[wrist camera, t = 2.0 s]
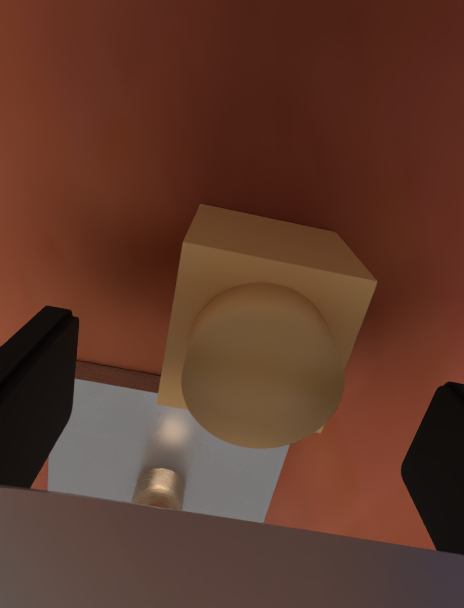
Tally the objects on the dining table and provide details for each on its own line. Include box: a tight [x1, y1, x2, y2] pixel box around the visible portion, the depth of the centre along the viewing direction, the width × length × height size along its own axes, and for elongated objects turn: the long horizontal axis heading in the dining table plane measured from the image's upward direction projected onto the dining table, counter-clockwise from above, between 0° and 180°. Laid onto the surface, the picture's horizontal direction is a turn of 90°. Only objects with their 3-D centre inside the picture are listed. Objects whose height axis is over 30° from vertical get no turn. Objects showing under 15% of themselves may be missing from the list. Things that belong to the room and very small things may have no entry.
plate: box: [48, 361, 290, 523], centre depth 18 cm, size 10×10×4 cm
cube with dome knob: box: [157, 203, 378, 449], centre depth 13 cm, size 5×5×7 cm
